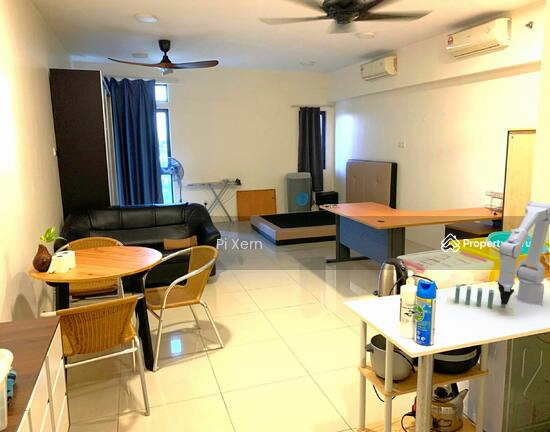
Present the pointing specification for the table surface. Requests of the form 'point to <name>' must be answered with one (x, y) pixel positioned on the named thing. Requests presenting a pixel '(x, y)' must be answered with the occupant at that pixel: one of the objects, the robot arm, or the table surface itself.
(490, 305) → the tile
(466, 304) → the muted teal oblong block
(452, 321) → the table surface
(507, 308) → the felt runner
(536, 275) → the robot arm
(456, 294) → the tile
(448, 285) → the table surface
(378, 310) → the table surface
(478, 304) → the teal rectangular block
